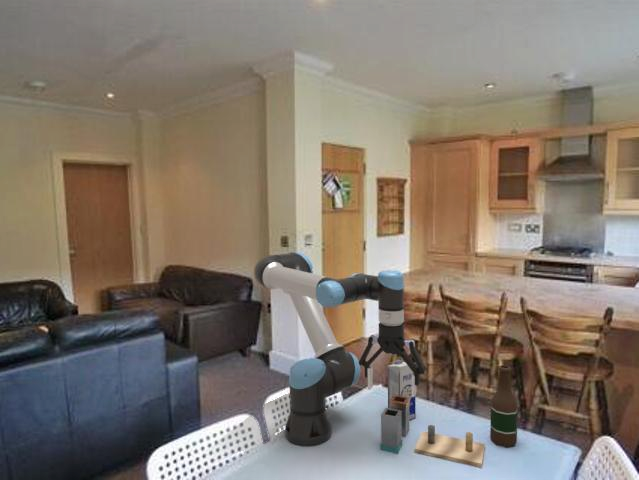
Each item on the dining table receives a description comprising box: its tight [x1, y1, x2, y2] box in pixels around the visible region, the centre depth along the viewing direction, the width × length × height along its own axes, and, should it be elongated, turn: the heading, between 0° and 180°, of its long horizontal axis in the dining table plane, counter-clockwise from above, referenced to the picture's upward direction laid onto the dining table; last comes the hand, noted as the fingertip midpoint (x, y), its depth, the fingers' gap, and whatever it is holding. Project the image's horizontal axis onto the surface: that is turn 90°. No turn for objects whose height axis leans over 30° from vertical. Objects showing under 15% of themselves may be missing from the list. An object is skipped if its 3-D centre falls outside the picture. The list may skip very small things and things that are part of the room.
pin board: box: [413, 424, 486, 469], centre depth 131 cm, size 19×11×6 cm, turn 65°
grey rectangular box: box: [379, 407, 403, 455], centre depth 133 cm, size 5×5×11 cm
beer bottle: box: [489, 364, 519, 449], centre depth 134 cm, size 8×8×24 cm
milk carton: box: [387, 359, 417, 421], centre depth 151 cm, size 7×7×20 cm
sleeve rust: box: [389, 395, 410, 438], centre depth 142 cm, size 5×5×11 cm
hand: (391, 391), depth 132 cm, fingers open, 13 cm apart
